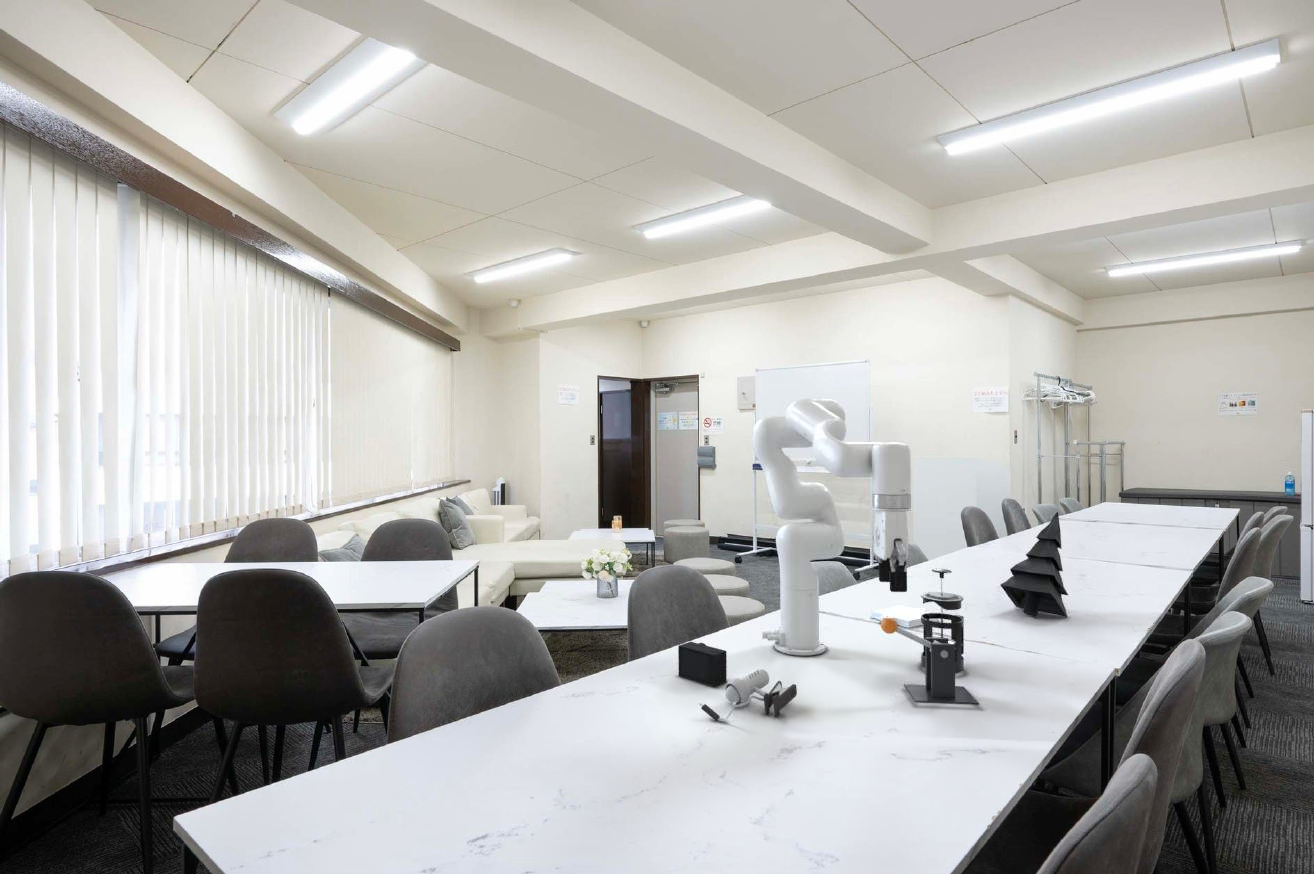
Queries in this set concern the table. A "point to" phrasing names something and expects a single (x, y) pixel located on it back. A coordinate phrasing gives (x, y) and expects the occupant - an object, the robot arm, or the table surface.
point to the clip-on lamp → (752, 683)
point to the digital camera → (702, 663)
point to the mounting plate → (902, 615)
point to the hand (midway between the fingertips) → (892, 586)
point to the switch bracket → (940, 677)
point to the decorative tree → (1039, 576)
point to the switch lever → (902, 632)
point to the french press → (957, 621)
